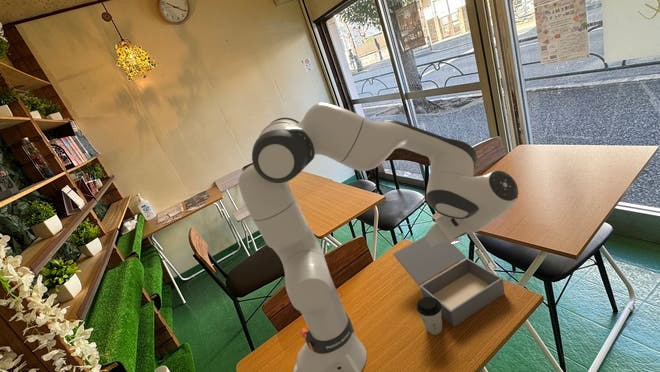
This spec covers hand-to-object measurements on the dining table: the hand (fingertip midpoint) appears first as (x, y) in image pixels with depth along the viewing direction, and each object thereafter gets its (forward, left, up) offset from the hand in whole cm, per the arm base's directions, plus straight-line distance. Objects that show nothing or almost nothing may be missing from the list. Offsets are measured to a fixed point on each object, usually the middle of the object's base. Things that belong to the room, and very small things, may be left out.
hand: (448, 232), depth 90 cm
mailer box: (0, 0, -25) cm, 25 cm away
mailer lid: (0, +13, -15) cm, 20 cm away
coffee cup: (-15, -4, -25) cm, 29 cm away
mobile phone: (+20, +30, -25) cm, 44 cm away
